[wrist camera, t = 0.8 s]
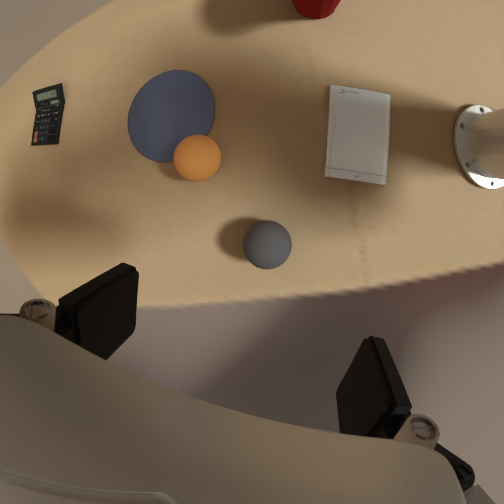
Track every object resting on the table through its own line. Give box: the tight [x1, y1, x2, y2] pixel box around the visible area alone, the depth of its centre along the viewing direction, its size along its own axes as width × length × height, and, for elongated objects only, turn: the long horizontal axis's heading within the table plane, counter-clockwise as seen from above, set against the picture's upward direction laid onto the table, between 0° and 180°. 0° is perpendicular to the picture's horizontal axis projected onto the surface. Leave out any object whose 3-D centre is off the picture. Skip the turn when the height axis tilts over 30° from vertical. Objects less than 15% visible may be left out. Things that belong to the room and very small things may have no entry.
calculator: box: [31, 83, 65, 145], centre depth 38 cm, size 9×12×3 cm
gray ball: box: [243, 221, 292, 269], centre depth 35 cm, size 6×6×6 cm
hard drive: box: [325, 85, 390, 185], centre depth 32 cm, size 2×8×12 cm
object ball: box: [174, 135, 221, 181], centre depth 34 cm, size 6×6×6 cm
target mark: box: [128, 70, 215, 162], centre depth 36 cm, size 14×14×1 cm
